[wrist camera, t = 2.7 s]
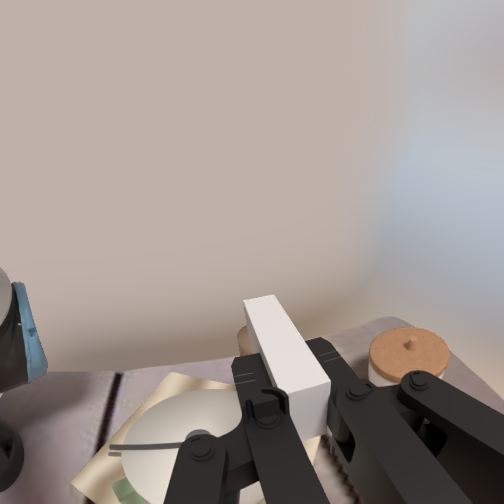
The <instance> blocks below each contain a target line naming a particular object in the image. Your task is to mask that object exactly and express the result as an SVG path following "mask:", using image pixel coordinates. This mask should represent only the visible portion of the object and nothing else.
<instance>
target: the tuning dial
mask: <svg viewBox="0 0 504 504" xmlns="http://www.w3.org/2000/svg"><path fill="white" fill-rule="evenodd" d="M237 338H238V344H239V350H240V356H245V355H250V354H252V351H251V348H250V343H249V337H248V330H247V326H245V327H243V328H242V329H241V330H240V331H239V332H238V334H237ZM241 418H242V412H241V408H240V404H239V399H238V395H237V391H233V390H225V389H203V390H195V391H189V392H185V393H181V394H178V395H175V396H172V397H169V398H167V399H165V400H162V401H161V402H159V403H157V404H155V405H154V406H152V407H151V408H149V409H148V410H146V411H145V412H144V413H143V414H141V415H140V416H139V417H138V419H137V420H136V421H135V422H134V423H133V424H132V426H131V427H130V429H129V430H128V432H127V434H126V437H125V439H124V442H123V445H122V444H110V446H109V449H110V450H122V454H121V457H122V465H123V469H124V472H125V475H126V477H127V479H128V481H129V482H130V484H131V485H132V487H133V488H134V489H135V490H136V491H137V492H138V493H139V494H140V495H141V496H142V497H143V498H144V499H145V500H146V501H148V502H149V503H150V504H163V502H164V499H165V495H166V492H167V488H168V485H169V481H170V477H171V474H172V470H173V467H174V463H175V460H176V456H177V453H178V449H179V448H180V446H181V444H182V442H184V441H185V440H186V439H187V438H189V437H191V436H194V435H197V434H210V435H214V436H216V437H220V436H222V435H224V434H226V433H228V432H230V431H232V430H233V429H234V428H236V427H237V426H238V424H239V423H240V421H241ZM263 499H264V496H263V492H262V489H261V485H260V482H259V481H258V482H256V483H254V484H252V485H250V486H248V487H246V488H244V489H241V490H240V500H239V504H258V503H260V502H261V501H262V500H263Z"/></svg>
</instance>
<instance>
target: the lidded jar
mask: <svg viewBox="0 0 504 504" xmlns="http://www.w3.org/2000/svg"><path fill="white" fill-rule="evenodd" d="M449 359H450V351H449V348H448V346H447V344H446V343H445V341H444V340H443V339H442V338H441V337H439V336H438V335H436V334H435V333H433V332H430V331H428V330H425V329H420V328H415V327H401V328H394V329H391V330H388V331H385V332H383V333H382V334H380V335H379V336H377V337H376V338H375V339H374V340H373V342H372V343H371V345H370V349H369V365H368V376H369V381H370V382H372V383H373V384H374V385H376V386H377V387H380V386H390V385H396V384H400V382H401V379H402V377H403V376H404V375H405V374H406V373H408V372H410V371H415V370H422V371H426V372H429V373H431V374H433V375H435V376H436V377H438V378H440V379H442V377H443V374H444V372H445V369H446V367H447V365H448V362H449Z"/></svg>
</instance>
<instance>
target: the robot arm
mask: <svg viewBox="0 0 504 504" xmlns="http://www.w3.org/2000/svg"><path fill="white" fill-rule="evenodd" d="M243 303H244V309H245V317H246V324H247V330H248V337H249V343H250V348H251V351H252V354H250V355H245V356H240V357H235V358H234V361H233V363H232V366H231V368H232V372H233V377H234V382H235V386H236V391H237V395H238V399H239V404H240V408H241V412H242V418H241V421H240V423H239V424H238V426H237V427H236V428H234V429H233V430H232V431H230V432H228V433H226V434H224V435H222V436H220V437H216V436H214V435H210V434H197V435H194V436H191V437H189V438H187V439H186V440H185V441H184V442H182V444H181V446H180V448H179V449H178V453H177V456H176V460H175V463H174V467H173V470H172V474H171V477H170V481H169V485H168V488H167V492H166V495H165V499H164V502H163V504H239V500H240V490H241V489H244V488H246V487H248V486H250V485H252V484H254V483H256V482H258V481H259V482H260V485H261V489H262V492H263V496H264V499H265V503H266V504H330V502H329V500H328V498H327V496H326V494H325V492H324V490H323V487H322V485H321V483H320V481H319V479H318V477H317V474H316V472H315V470H314V468H313V466H312V463H311V461H310V459H309V457H308V455H307V452H306V450H305V448H304V446H303V443H302V441H304V440H307V439H311V438H314V437H317V436H320V435H323V434H326V433H327V425H328V427H329V429H330V430H331V432H332V440H331V447H330V453H331V455H334V452H335V450H336V452H337V454H338V455H339V457H340V459H341V461H342V463H343V465H344V467H345V468H346V470H347V472H348V474H349V476H350V478H351V479H352V481H353V483H354V485H355V487H356V489H357V490H358V492H359V494H360V496H361V498H362V499H363V501H364V503H365V504H472V503H471V501H470V500H472V501H473V502H475V503H476V504H504V415H503V414H501V413H499V412H498V411H496V410H494V409H492V408H491V407H489V406H487V405H485V404H483V403H482V402H480V401H478V400H476V399H475V398H473V397H471V396H469V395H468V394H466V393H464V392H462V391H461V390H459V389H457V388H455V387H454V386H452V385H450V384H448V383H447V382H445V381H443V380H442V379H440V378H438V377H436V376H435V375H433V374H431V373H429V372H426V371H422V370H415V371H410V372H408V373H406V374H405V375H404V376H403V377H402V379H401V382H400V384H396V385H390V386H380V387H377V386H376V385H374V384H373V383H372V382H370V381H367V380H365V379H359V378H358V377H357V375H356V374H355V373H354V372H353V370H352V369H351V368H350V367H349V365H348V364H347V363H346V362H345V360H344V359H343V358H342V357H341V355H340V354H339V353H338V351H336V349H335V348H334V346H333V345H332V344H331V343H330V342H329V341H327V340H325V339H323V338H321V337H319V338H315V339H311V340H308V341H304V340H303V338H302V337H301V335H300V334H299V332H298V331H297V329H296V328H295V326H294V325H293V323H292V322H291V320H290V318H289V317H288V316H287V314H286V313H285V311H284V309H283V308H282V306H281V305H280V303H279V302H278V300H277V299H276V297H275V296H274V295H269V296H264V297H259V298H254V299H248V300H243ZM47 368H48V364H47V359H46V357H45V354H44V351H43V348H42V345H41V342H40V340H39V336H38V333H37V330H36V327H35V323H34V320H33V317H32V313H31V309H30V305H29V301H28V297H27V293H26V289H25V285H24V284H23V283H21V282H18V283H16V282H13V283H12V284H11V283H10V280H9V278H8V276H7V274H6V273H5V272H4V271H3V270H2V269H1V268H0V393H3V392H6V391H8V390H11V389H14V388H16V387H19V386H22V385H24V384H29V383H31V381H32V380H34V379H36V378H38V377H40V376H42V375H44V374H45V373H46V371H47ZM425 419H426V420H425ZM427 420H428V421H427ZM22 463H23V446H22V442H21V440H20V438H19V437H18V435H17V434H16V433H15V432H14V430H13V429H12V428H11V427H10V426H9V425H8V424H7V423H6V422H5V421H4V420H2V419H1V418H0V492H1V491H3V490H5V489H6V488H8V487H9V486H10V485H11V484H12V483H13V482H14V480H15V479H16V477H17V476H18V474H19V472H20V469H21V466H22ZM468 498H469V499H470V500H469V499H468Z"/></svg>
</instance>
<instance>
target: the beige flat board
mask: <svg viewBox="0 0 504 504" xmlns="http://www.w3.org/2000/svg"><path fill="white" fill-rule="evenodd" d="M203 389H225V390H233V391H236V386H235V385H231V384H226V383H220V382H215V381H210V380H205V379H200V378H195V377H191V376H186V375H182V374H178V373H174V372H170V373H169V374H168V375H167V376H166V378H165V379H164V380H163V381H162V382H161V383H160V384H159V385H158V387H157V388H156V389H155V390H154V391H153V392H152V393H151V394H150V396H149V397H148V398H147V399H146V400H145V401H144V402H143V403H142V404H141V406H140V407H139V408H138V409H137V410H136V411H135V412H134V413H133V414H132V416H131V417H130V418H129V419H128V420H127V421H126V422H125V423H124V424H123V425H122V427H121V428H120V429H119V430H118V431H117V432H116V433H115V434H114V435H113V436H112V437H111V439H110V440H109V441H108V442H107V443H106V444H105V445H104V446H103V447H102V448H101V449H100V450H99V452H98V453H97V454H96V455H95V456H94V457H93V458H92V459H91V460H90V461H89V462H88V463H87V464H86V465H85V467H84V468H83V469H82V470H81V471H80V472H79V473H78V474H77V475H76V476H75V477H74V478H73V479H72V480H71V481H70V482H69V483H70V484H72V485H73V486H74V487H75V488H76V489H77V490H79V491H80V492H81V493H82V494H84V495H85V496H86V497H88V498H89V499H90V500H92V501H93V502H94V503H96V504H150V503H149V502H148V501H146V500H145V499H144V498H143V497H142V496H141V495H140V494H139V493H138V492H137V491H136V490H135V489H134V488H133V487H132V485H131V484H130V482H129V481H128V479H127V477H126V475H125V472H124V469H123V465H122V457H121V454H122V450H110V449H109V446H110V444H122V445H123V442H124V439H125V437H126V434H127V432H128V430H129V429H130V427H131V426H132V424H133V423H134V422H135V421H136V420H137V419H138V417H139V416H140V415H141V414H143V413H144V412H145V411H146V410H148V409H149V408H151V407H152V406H154V405H155V404H157V403H159V402H161V401H162V400H165V399H167V398H169V397H172V396H175V395H178V394H181V393H185V392H189V391H195V390H203ZM320 438H321V435H320V436H317V437H314V438H311V439H307V440H304V441H302V443H303V446H304V448H305V450H306V452H307V455H308V457H309V459H310V461H311V463H312V466H313V467H314V463H315V459H316V455H317V451H318V447H319V443H320ZM258 504H266V503H265V499H263V500H262V501H261V502H260V503H258Z"/></svg>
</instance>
